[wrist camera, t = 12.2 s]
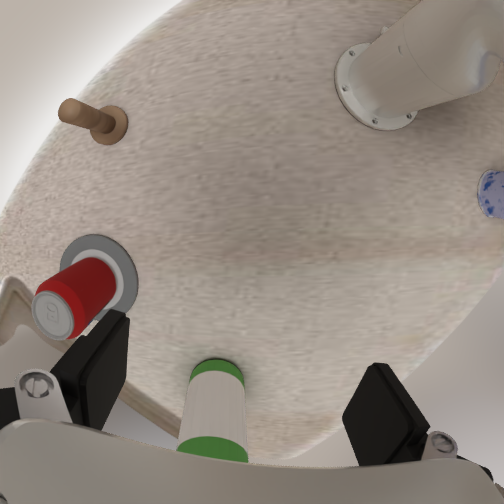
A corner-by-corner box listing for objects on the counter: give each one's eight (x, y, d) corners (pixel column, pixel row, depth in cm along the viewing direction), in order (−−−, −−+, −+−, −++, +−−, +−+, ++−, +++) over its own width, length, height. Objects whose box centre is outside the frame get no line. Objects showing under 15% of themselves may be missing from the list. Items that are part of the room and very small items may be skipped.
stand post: (98, 105, 32) (56, 85, 22) (132, 109, 33) (96, 86, 22) (89, 142, 34) (42, 133, 23) (122, 147, 34) (82, 137, 23)
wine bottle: (255, 377, 42) (277, 572, 13) (219, 404, 43) (213, 584, 14) (215, 346, 41) (198, 557, 12) (180, 376, 42) (140, 565, 13)
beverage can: (74, 297, 37) (29, 335, 26) (76, 250, 36) (24, 277, 24) (117, 308, 38) (80, 354, 26) (120, 261, 36) (78, 294, 25)
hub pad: (65, 226, 36) (62, 227, 35) (144, 245, 37) (142, 247, 36) (61, 305, 38) (58, 307, 38) (133, 328, 40) (131, 331, 39)
